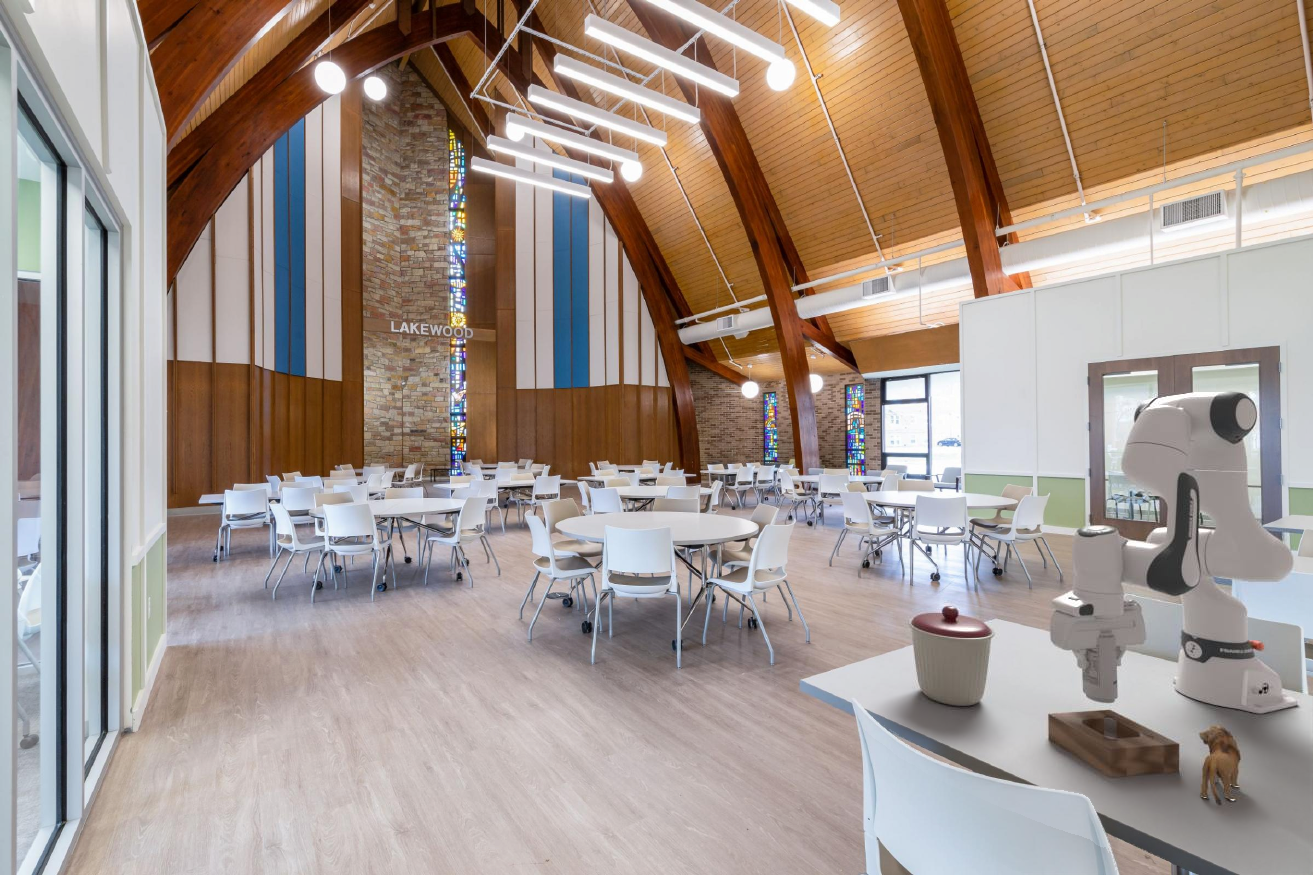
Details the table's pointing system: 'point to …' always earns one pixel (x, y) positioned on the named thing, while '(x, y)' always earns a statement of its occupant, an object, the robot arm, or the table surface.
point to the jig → (1113, 743)
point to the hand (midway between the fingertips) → (1099, 666)
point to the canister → (951, 656)
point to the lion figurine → (1220, 761)
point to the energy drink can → (1101, 670)
